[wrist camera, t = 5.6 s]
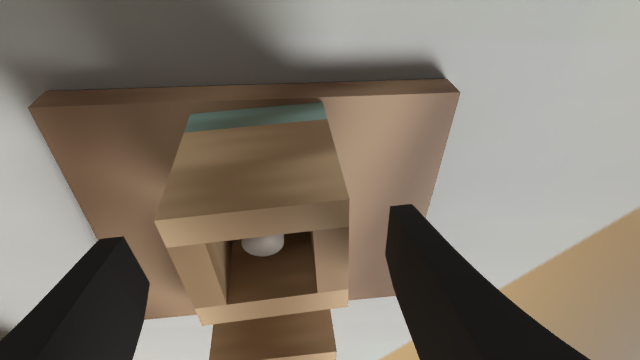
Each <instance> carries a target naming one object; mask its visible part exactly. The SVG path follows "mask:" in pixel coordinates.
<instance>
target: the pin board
mask: <svg viewBox="0 0 640 360" xmlns="http://www.w3.org/2000/svg"><path fill="white" fill-rule="evenodd" d="M459 95H460V92H459V91H458V90H457V88H456V87H455V86H454V85H453V84H452V83H451V82H450V81H449V80H448V79H421V80H388V81H356V82H323V83H291V84H258V85H226V86H193V87H160V88H128V89H95V90H63V91H46V92H45V93H44V94H42V95H41V96H40V97H39V98H38V99H37V100H36V101H35V102H34V103H32V104H31V105H30V106H29V107H28V109H29V110H30V112H31V114H32V116H33V118H34V120H35V122H36V124H37V126H38V127H39V129H40V131H41V133H42V135H43V137H44V139H45V141H46V143H47V145H48V146H49V148H50V150H51V152H52V154H53V156H54V158H55V160H56V162H57V163H58V165H59V167H60V169H61V171H62V173H63V175H64V177H65V179H66V180H67V182H68V184H69V186H70V188H71V190H72V192H73V194H74V196H75V197H76V199H77V201H78V203H79V205H80V207H81V209H82V211H83V213H84V214H85V216H86V218H87V220H88V222H89V224H90V226H91V228H92V230H93V231H94V233H95V235H96V237H97V239H98V241H99V240H100V239H104V238H113V237H122V236H124V238H125V240H126V241H127V243H128V245H129V247H130V248H131V250H132V252H133V254H134V256H135V257H136V259H137V261H138V263H139V264H140V266H141V268H142V270H143V271H144V273H145V275H146V277H147V279H148V280H149V282H150V286H149V293H148V300H147V306H146V312H145V317H144V320H145V319H156V318H166V317H177V316H187V315H197V313H196V311H195V309H194V307H193V304H192V302H191V300H190V298H189V296H188V294H187V291H186V289H185V287H184V285H183V283H182V281H181V279H180V276H179V274H178V272H177V270H176V268H175V266H174V263H173V261H172V259H171V257H170V255H169V253H168V250H167V248H166V246H165V244H164V242H163V240H162V237H161V235H160V233H159V231H158V229H157V227H156V224H155V222H154V219H155V216H156V213H157V210H158V207H159V204H160V201H161V198H162V195H163V192H164V190H165V187H166V184H167V181H168V178H169V175H170V172H171V169H172V166H173V163H174V160H175V157H176V154H177V151H178V148H179V145H180V142H181V139H182V137H183V134H184V131H185V128H186V125H187V122H188V119H189V116H190V114H195V113H206V112H217V111H228V110H239V109H250V108H260V107H271V106H282V105H293V104H304V103H314V102H323V105H324V109H325V112H326V116H327V120H328V123H329V127H330V130H331V134H332V138H333V141H334V145H335V148H336V152H337V156H338V159H339V163H340V167H341V170H342V174H343V177H344V181H345V185H346V188H347V192H348V195H349V199H350V200H349V280H348V300H356V299H367V298H377V297H388V296H396V294H395V291H394V288H393V285H392V281H391V277H390V273H389V269H388V265H387V261H386V256H385V250H386V240H387V231H388V221H389V212H390V206H397V205H406V204H412V205H414V206H415V207H416V208H417V209H418V211H419V212H420V213H421V214H422V215H423V216H424V217H425V218H426V215H427V211H428V207H429V204H430V200H431V197H432V193H433V189H434V186H435V182H436V179H437V175H438V171H439V168H440V164H441V160H442V157H443V153H444V150H445V146H446V142H447V139H448V135H449V132H450V128H451V124H452V121H453V117H454V114H455V110H456V106H457V103H458V99H459ZM241 244H242V247H243V249H244V250H245V251H246V252H248V253H249V254H251V255H255V256H270V255H273V254H275V253H277V252H278V251H279V250H281V248H282V247H283V245H284V234H281V235H272V236H263V237H255V238H246V239H242V241H241Z"/></svg>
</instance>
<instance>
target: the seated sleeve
mask: <svg viewBox="0 0 640 360" xmlns="http://www.w3.org/2000/svg"><path fill="white" fill-rule="evenodd" d="M336 352H337V351H336V345H335V338H334V332H333V325H332V319H331V313H330V309H326V310H319V311H311V312H303V313H296V314H288V315H280V316H273V317H265V318H258V319H250V320H242V321H235V322H227V323H219V324H213V332H212V341H211V349H210V357H209V360H336Z"/></svg>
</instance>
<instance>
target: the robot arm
mask: <svg viewBox="0 0 640 360" xmlns="http://www.w3.org/2000/svg"><path fill="white" fill-rule="evenodd" d="M385 256H386V261H387V265H388V269H389V273H390V277H391V281H392V285H393V288H394V291H395V294H396V297H397V300H398V302H399V305H400V308H401V310H402V313H403V316H404V318H405V321H406V324H407V326H408V329H409V332H410V334H411V337H412V340H413V342H414V345H415V348H416V350H417V353H418V356H419V358H420V360H590V359H588V358H587V357H586V356H584V355H583V354H581V353H580V352H578V351H577V350H575V349H574V348H572V347H571V346H569V345H568V344H566V343H565V342H564V341H562V340H561V339H559V338H558V337H557V336H555V335H554V334H553V333H551V332H550V331H549V330H547V329H546V328H545V327H543V326H542V325H541V324H539V323H538V322H537V321H535V320H534V319H533V318H532V317H531V316H529V315H528V314H527V313H525V312H524V311H523V310H521V309H520V308H519V307H518V306H517V305H515V304H514V303H513V302H512V301H511V300H509V299H508V298H507V297H506V296H505V295H504V294H502V293H501V292H500V291H499V290H498V289H497V288H496V287H494V286H493V285H492V284H491V283H490V282H489V281H488V280H487V279H486V278H484V277H483V276H482V275H481V274H480V273H479V272H478V271H477V270H476V269H475V268H474V267H473V266H472V265H471V264H469V263H468V262H467V261H466V260H465V259H464V258H463V257H462V256H461V255H460V254H459V253H458V252H457V251H456V250H455V249H454V248H453V247H452V246H451V245H450V244H449V243H448V242H447V241H446V240H445V239H444V238H443V236H442V235H441V234H440V233H439V232H438V231H437V230H436V229H435V228H434V227H433V226H432V225H431V224H430V223H429V222H428V220H427V219H426V218H425V217H424V216H423V215H422V214H421V213H420V212H419V211H418V209H417V208H416V207H415V206H414V205H412V204H406V205H397V206H390V212H389V221H388V231H387V240H386V250H385ZM149 286H150V282H149V280H148V279H147V277H146V275H145V273H144V271H143V270H142V268H141V266H140V264H139V263H138V261H137V259H136V257H135V256H134V254H133V252H132V250H131V248H130V247H129V245H128V243H127V241H126V240H125V238H124V236H122V237H113V238H104V239H100V240H99V241H98V242H97V243H96V244H94V245H93V247H92V248H91V249H90V250H89V251H88V252H87V253H86V254H85V255H84V256H83V257H82V258H81V259H80V260H79V261H78V262H77V263H76V264H75V265H74V267H73V268H72V269H71V270H70V271H69V272H68V273H67V274H66V275H65V276H64V277H63V278H62V279H61V280H60V282H59V283H58V284H57V285H56V286H55V287H54V288H53V289H52V290H51V291H50V292H49V293H48V294H47V295H46V296H45V297H44V298H43V299H42V300H41V301H40V302H39V303H38V305H37V306H36V307H35V308H34V309H33V310H32V311H31V312H30V313H29V314H28V315H27V316H26V317H25V318H24V319H23V320H22V321H21V322H20V323H19V324H18V325H17V326H16V327H15V328H14V329H12V330H11V331H10V332H9V333H8V334H7V335H6V336H5V337H4V338H3V339H2V340H1V341H0V360H132V359H133V356H134V353H135V349H136V346H137V342H138V339H139V336H140V332H141V329H142V325H143V322H144V317H145V312H146V306H147V300H148V293H149Z"/></svg>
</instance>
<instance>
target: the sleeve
mask: <svg viewBox="0 0 640 360" xmlns="http://www.w3.org/2000/svg"><path fill="white" fill-rule="evenodd" d="M349 200H350V199H349V195H348V192H347V188H346V185H345V181H344V177H343V174H342V170H341V167H340V163H339V159H338V156H337V152H336V148H335V145H334V141H333V138H332V134H331V130H330V127H329V123H328V120H327V116H326V112H325V109H324V105H323V102H314V103H304V104H293V105H282V106H271V107H260V108H250V109H239V110H228V111H217V112H206V113H195V114H190V116H189V119H188V122H187V125H186V128H185V131H184V134H183V137H182V139H181V142H180V145H179V148H178V151H177V154H176V157H175V160H174V163H173V166H172V169H171V172H170V175H169V178H168V181H167V184H166V187H165V190H164V192H163V195H162V198H161V201H160V204H159V207H158V210H157V213H156V216H155V219H154V222H155V224H156V227H157V229H158V231H159V233H160V235H161V237H162V240H163V242H164V244H165V246H166V248H167V250H168V253H169V255H170V257H171V259H172V261H173V263H174V266H175V268H176V270H177V272H178V274H179V276H180V279H181V281H182V283H183V285H184V287H185V289H186V291H187V294H188V296H189V298H190V300H191V302H192V304H193V307H194V309H195V311H196V313H197V315H198V317H199V320H200V322H201V324H202V326H204V325H212V324H219V323H227V322H235V321H242V320H250V319H258V318H265V317H273V316H280V315H288V314H296V313H303V312H311V311H319V310H326V309H334V308H341V307H348V280H349ZM281 234H284V245H283V247H282V248H281V250H279V251H278V252H277V253H275V254H273V255H270V256H255V255H251V254H249V253H248V252H246V251H245V250H244V249H243V247H242V244H241V241H242V239H246V238H255V237H263V236H272V235H281Z"/></svg>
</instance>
